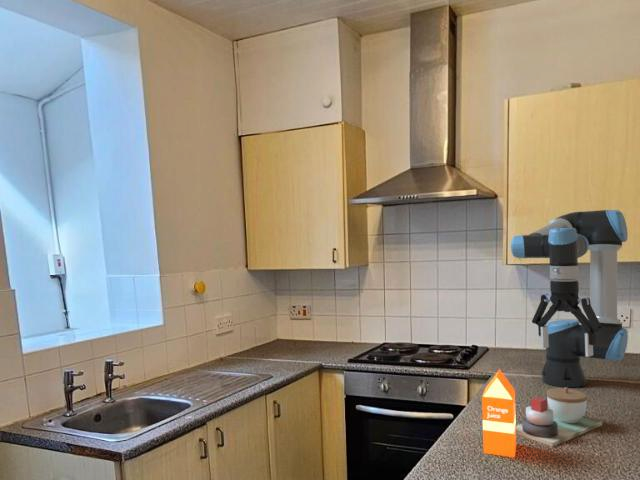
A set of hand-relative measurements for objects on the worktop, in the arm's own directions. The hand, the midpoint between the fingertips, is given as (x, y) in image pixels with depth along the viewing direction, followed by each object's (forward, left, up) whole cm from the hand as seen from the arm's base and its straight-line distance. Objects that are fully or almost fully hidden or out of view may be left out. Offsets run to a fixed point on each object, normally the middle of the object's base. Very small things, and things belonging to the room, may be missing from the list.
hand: (566, 351), depth 145 cm
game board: (+6, 0, -21) cm, 22 cm away
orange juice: (+30, -1, -22) cm, 37 cm away
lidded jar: (0, 0, -20) cm, 20 cm away
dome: (+14, 0, -17) cm, 22 cm away
